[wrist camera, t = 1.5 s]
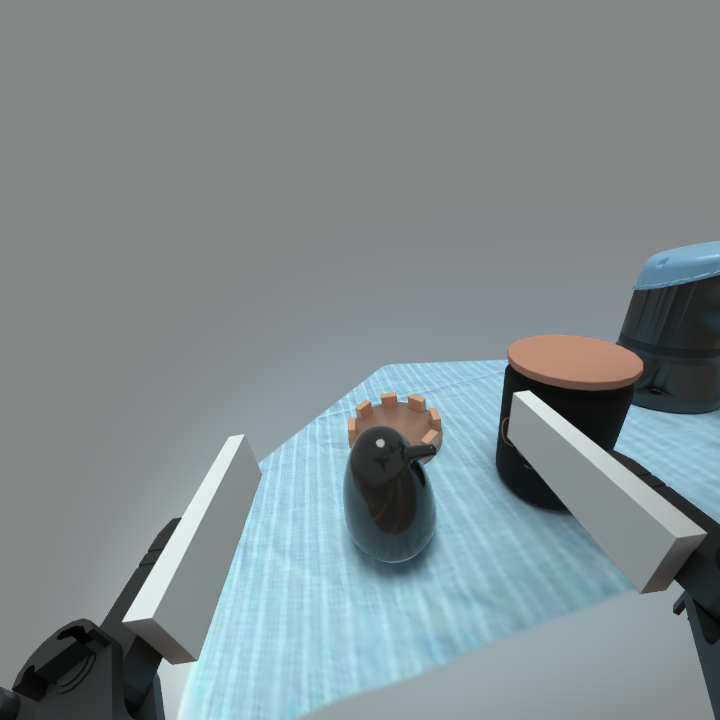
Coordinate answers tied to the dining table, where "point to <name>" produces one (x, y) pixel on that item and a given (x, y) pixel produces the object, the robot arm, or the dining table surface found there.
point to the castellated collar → (399, 420)
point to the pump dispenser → (388, 495)
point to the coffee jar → (565, 398)
